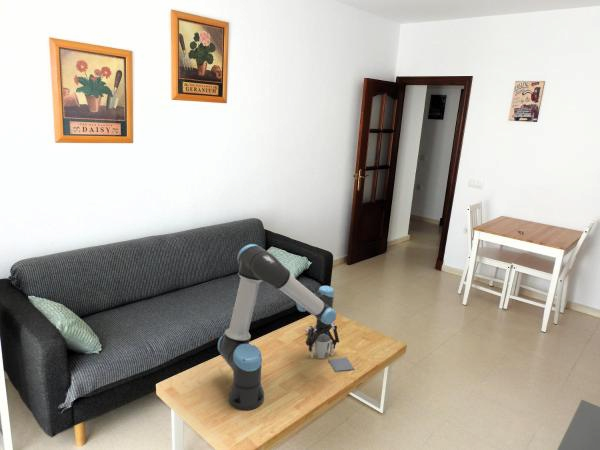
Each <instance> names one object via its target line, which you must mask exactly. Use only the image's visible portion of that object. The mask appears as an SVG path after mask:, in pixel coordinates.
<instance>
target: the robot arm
mask: <svg viewBox="0 0 600 450" xmlns="http://www.w3.org/2000/svg"><path fill="white" fill-rule="evenodd" d="M236 258H237V263H238V265H239V269H238V272H237V275H238V276H239V277H240V279H239V284H238V285H239V286H238V289H237V293H236V299H235V302H234V307H233V309H232V310H233V311H232V316H231V319H230V324H229V327H228V328H226V330H225V331H224V333H223V334H222V335H220V337H219V339H218V342H217V351H218V352H219V353H220V356H221V357H222V359H223V360H224V361H225V362H226V363H227V364H228V366H229V367H230V368H231V370H232V371H233V373H232V374H233V377H232V378H233V379H232V380H233V381H232V384H231V386H230V387H231V388H230V390H229V393H228V402H229V404H230V405H231V406H232V407H233V408H234V409H237V410H241V411H251V410H255V409H256V408H259V407H260V406H262V405H263V403H264V401H265V392H264V389H263V386H262V363H263V357H262V352H261V349H260V348H259V347H258V346H256V345H254V344H252V343H250V342H251V341H250V340H251V336H252V335H251V334H250V332H249V330H250V326H251V322H252V317H253V313H254V309H255V304H256V300H257V297H258V293H259V288H260V283H262V282H264V283H266V284H267V285H269V286H271V287H272V288H273V289H275V290H280V291H281V292H283V294H285V295H287V296H288V297H289V298H290V299H292V300H293V301H294V302H296V303H295V304H296V308H297V310H298V311H299V312H308V313H309V314H310V315H312V316H314V317H315V318H316V324H315V325H314V326H313V325H310V326H309V328H310V331H309V334H308V333H307V338H306V339H305V344H306V346H307V347H308V351H309V357H310V358H311V359H313V358H314V351H315V341H316V339H317V338H318V336H320V334H327V333H328V335H329V337H330V338H331V341H330V347H329V354H330V356H331V357H333V355H334V350H335V349H336V345H337V343H338V344H339V343H340V339H339V334H338V326H337V324H336V323H334V322H335V320H336V318H337V312H336V310H334V309H333V308H334V298H335V296H334V295H335V289H334V288H333V287H331V286H329V285H322V286H320V287H319V288H318V291H317V292H312V291H311V290H309V289H308V288H307V287H306V286H305V285H303V284H302V283H301V282H300V281H299V280H297V278H295V277H294V276H292V275H291V272H290V270H289V269H288V268H287V267H286V266H285V265H284V264H283V263H282V262H281V261H280V260H279V259H278V258H277V257H276V256H275V255H273V253H270V252H269V251H267V250H266V249H264V248H263V247H262V246H259V245H258V244H255V243H249V244H247V245H245V246H244V247H242V248H241V249H240V250H239V252H238V254H237V257H236ZM315 329H317V330H316V332H315V334H314V336H313V333H314V331H315ZM331 329H332V330H333V335H334V337H333V335H332V333H331V331H330V330H331ZM318 332H319V333H318ZM312 336H313V337H312ZM334 338H335V339H334Z"/></svg>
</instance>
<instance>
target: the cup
mask: <svg viewBox="0 0 600 450" xmlns="http://www.w3.org/2000/svg"><path fill="white" fill-rule="evenodd" d="M331 342H332V340H331V338H330V337H329V336H327V335H320V336H318V338H317V339H316V341H315V342H314V351H315V352H314V353H315V356H316V357H317V358H318V359H320V360H322V359H326V358H327V356H328V354H329V352H330V343H331Z"/></svg>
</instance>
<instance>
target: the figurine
mask: <svg viewBox="0 0 600 450" xmlns="http://www.w3.org/2000/svg"><path fill="white" fill-rule="evenodd" d="M316 330H317V329H315V331H314V333H313V336H314V334H315V332H316ZM309 331H310V327H308V328H307V329H305V331H304V332H306V333H307V335H308V334H309ZM318 333H319V332H318ZM320 335H327V336H329V335H328V333H327V334H320ZM313 336H312V337H313Z"/></svg>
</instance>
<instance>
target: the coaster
mask: <svg viewBox="0 0 600 450" xmlns="http://www.w3.org/2000/svg"><path fill="white" fill-rule="evenodd" d="M328 363H329V365H330V366H331V369H333V371H334V373H341V372H342V373H343V372H349V371H354V370H355V367H354V366H353V364H352V363H351V361H350V360H349V359H348V357H340V358H331V359H328Z"/></svg>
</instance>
